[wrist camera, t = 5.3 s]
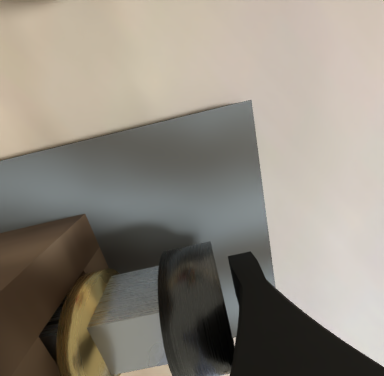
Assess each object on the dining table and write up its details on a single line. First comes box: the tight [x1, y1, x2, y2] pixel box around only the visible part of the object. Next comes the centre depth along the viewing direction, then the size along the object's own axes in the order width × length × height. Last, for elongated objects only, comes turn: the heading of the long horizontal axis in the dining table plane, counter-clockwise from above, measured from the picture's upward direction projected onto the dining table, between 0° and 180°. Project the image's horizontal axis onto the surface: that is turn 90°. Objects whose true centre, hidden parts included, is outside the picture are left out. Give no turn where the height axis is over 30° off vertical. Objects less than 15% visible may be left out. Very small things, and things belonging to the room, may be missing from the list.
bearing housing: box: [0, 100, 275, 376], centre depth 9 cm, size 14×20×7 cm
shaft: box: [39, 241, 235, 376], centre depth 8 cm, size 4×18×4 cm, turn 103°
